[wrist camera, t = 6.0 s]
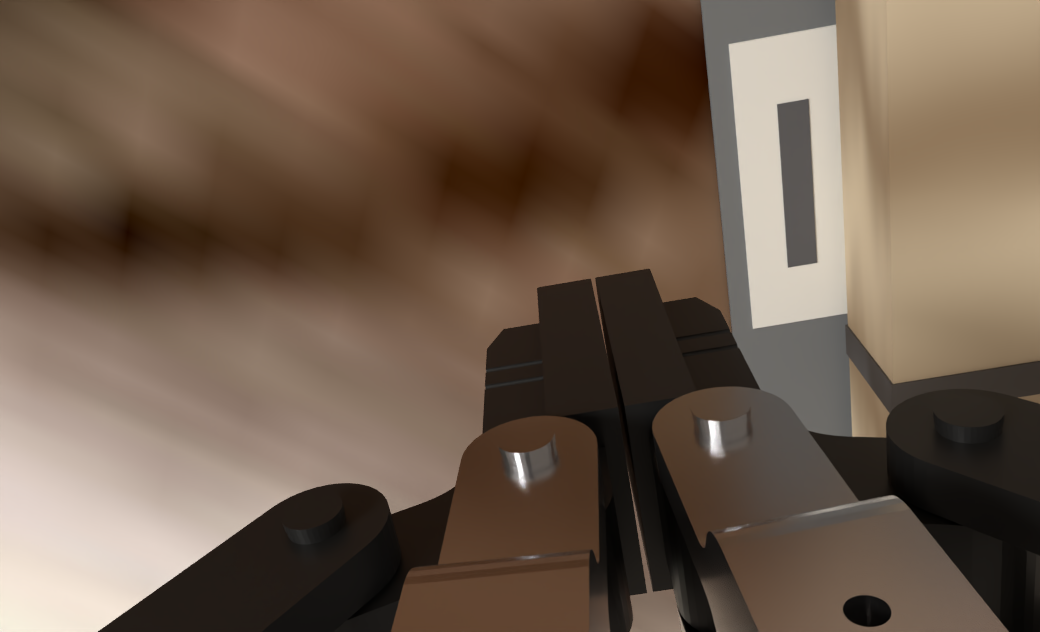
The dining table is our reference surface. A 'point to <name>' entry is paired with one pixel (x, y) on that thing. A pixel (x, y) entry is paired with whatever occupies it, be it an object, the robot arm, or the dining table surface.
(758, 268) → the label mat
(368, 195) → the dining table surface
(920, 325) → the swing arm
